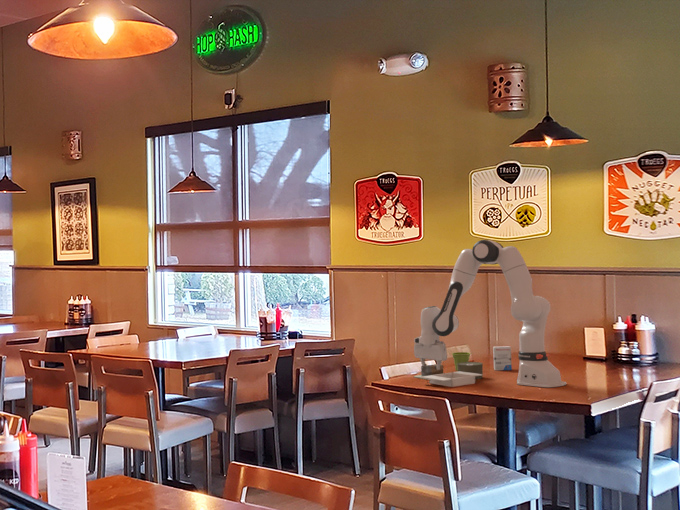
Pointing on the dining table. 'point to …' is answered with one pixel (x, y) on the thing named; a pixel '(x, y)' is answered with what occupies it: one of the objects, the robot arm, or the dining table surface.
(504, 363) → the ink box
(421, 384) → the dining table surface
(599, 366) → the dining table surface
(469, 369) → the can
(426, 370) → the walnut box
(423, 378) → the sage mat
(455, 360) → the plant pot
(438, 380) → the grey tray
